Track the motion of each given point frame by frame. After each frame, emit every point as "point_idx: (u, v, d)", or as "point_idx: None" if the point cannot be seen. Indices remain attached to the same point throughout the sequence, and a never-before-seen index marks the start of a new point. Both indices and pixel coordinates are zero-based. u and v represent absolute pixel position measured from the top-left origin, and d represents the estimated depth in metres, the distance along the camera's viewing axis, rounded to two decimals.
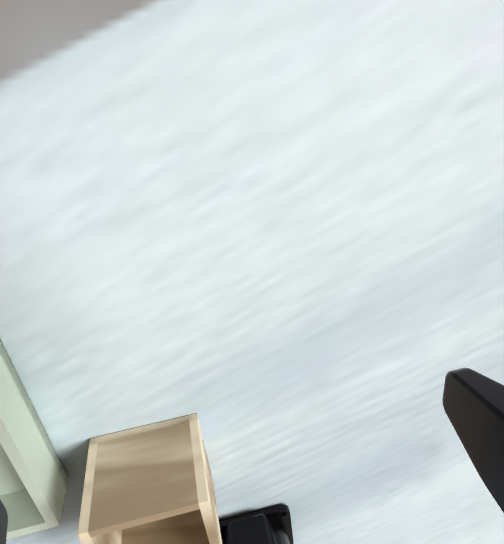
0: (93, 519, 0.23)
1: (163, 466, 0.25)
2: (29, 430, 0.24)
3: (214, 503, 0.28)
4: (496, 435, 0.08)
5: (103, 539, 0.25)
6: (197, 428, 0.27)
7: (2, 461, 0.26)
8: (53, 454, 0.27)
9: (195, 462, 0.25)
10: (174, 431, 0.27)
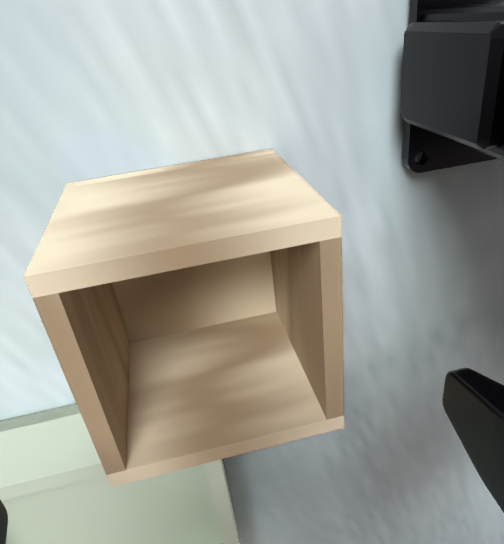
0: None
1: None
2: (47, 438, 0.17)
3: (234, 186, 0.12)
4: (496, 435, 0.08)
5: (197, 420, 0.13)
6: None
7: None
8: None
9: None
10: None
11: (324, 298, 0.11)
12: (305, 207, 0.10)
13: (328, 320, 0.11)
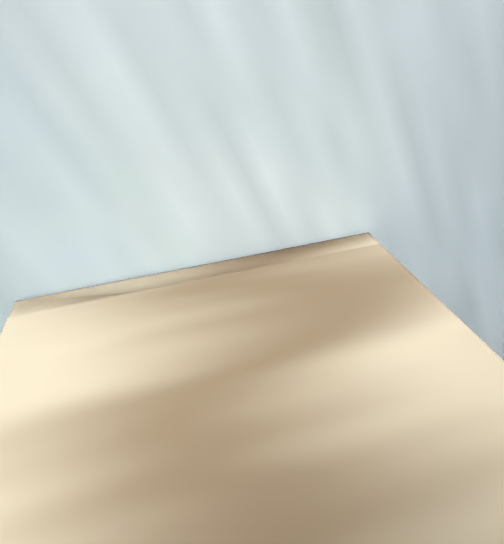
0: None
1: None
2: None
3: (336, 349, 0.06)
4: None
5: None
6: None
7: None
8: None
9: None
10: None
11: None
12: None
13: None
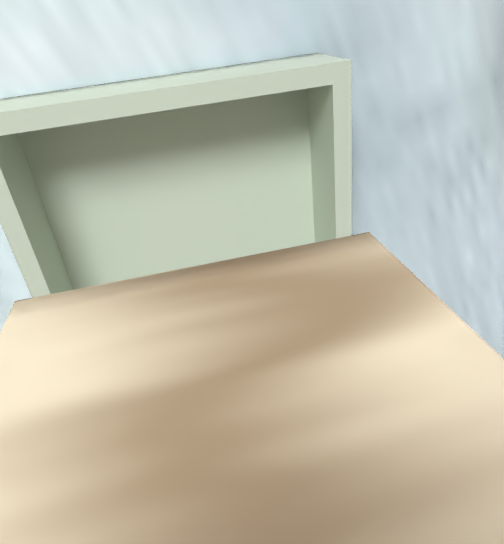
0: None
1: None
2: (150, 82, 0.14)
3: (337, 349, 0.06)
4: None
5: None
6: None
7: (238, 144, 0.17)
8: (246, 64, 0.16)
9: None
10: None
11: None
12: None
13: None
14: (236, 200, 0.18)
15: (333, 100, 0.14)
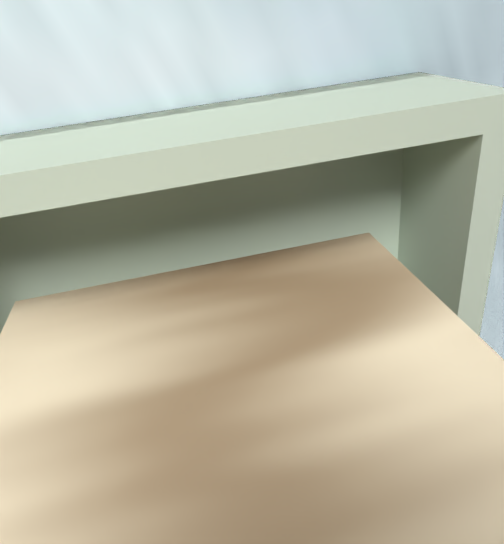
0: None
1: None
2: (150, 127, 0.08)
3: (337, 349, 0.06)
4: None
5: None
6: None
7: (290, 217, 0.10)
8: (309, 92, 0.09)
9: None
10: None
11: None
12: None
13: None
14: None
15: (479, 161, 0.08)
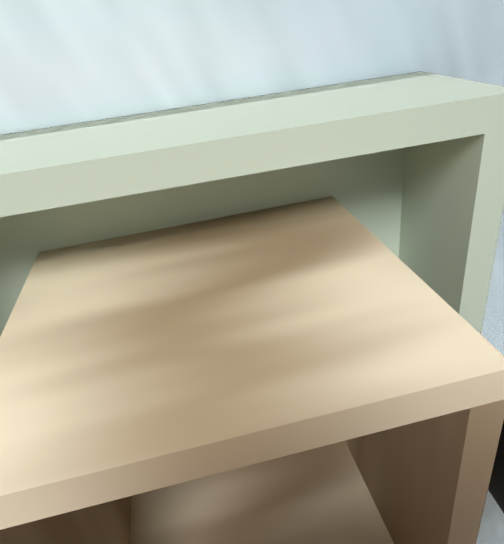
0: None
1: None
2: (150, 126, 0.08)
3: (293, 274, 0.08)
4: None
5: None
6: (27, 282, 0.09)
7: None
8: (310, 91, 0.09)
9: None
10: None
11: (461, 485, 0.06)
12: (435, 337, 0.06)
13: (460, 510, 0.07)
14: None
15: (481, 160, 0.08)
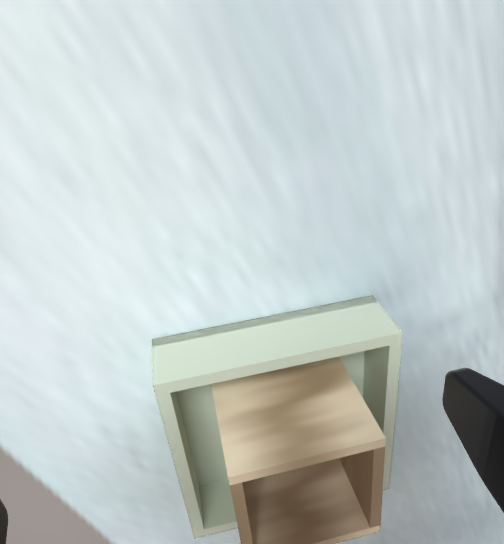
0: None
1: None
2: (265, 336, 0.21)
3: (319, 395, 0.21)
4: (496, 435, 0.08)
5: (292, 525, 0.22)
6: (212, 391, 0.22)
7: None
8: (324, 309, 0.23)
9: None
10: None
11: (374, 472, 0.19)
12: (365, 426, 0.19)
13: (375, 481, 0.20)
14: None
15: (389, 353, 0.21)
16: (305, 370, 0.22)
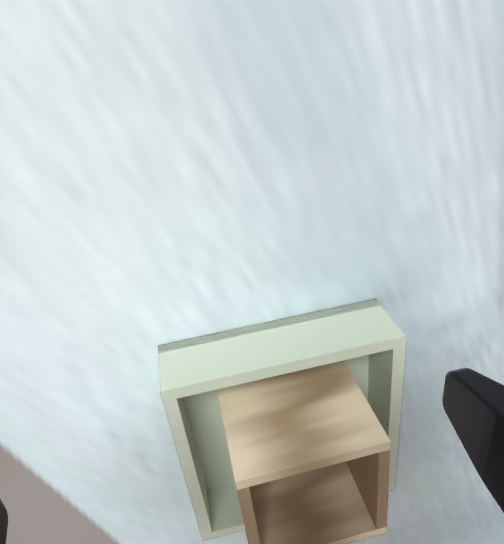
0: None
1: None
2: (269, 340, 0.21)
3: (324, 399, 0.21)
4: (496, 435, 0.08)
5: (299, 527, 0.22)
6: (218, 396, 0.22)
7: None
8: (328, 313, 0.23)
9: None
10: None
11: (379, 475, 0.20)
12: (370, 430, 0.19)
13: (380, 483, 0.20)
14: None
15: (393, 356, 0.21)
16: (310, 374, 0.23)
